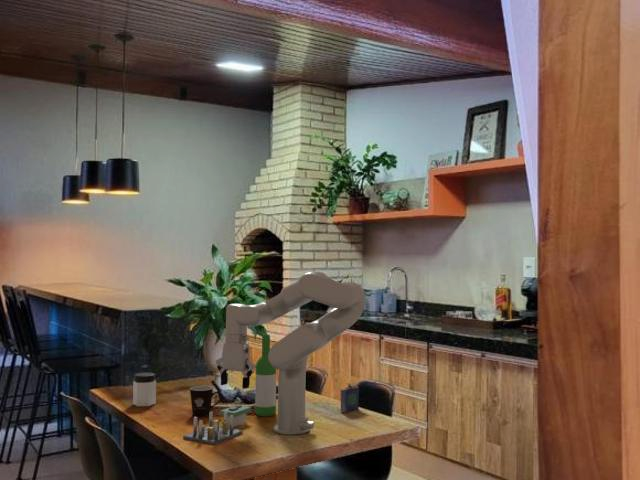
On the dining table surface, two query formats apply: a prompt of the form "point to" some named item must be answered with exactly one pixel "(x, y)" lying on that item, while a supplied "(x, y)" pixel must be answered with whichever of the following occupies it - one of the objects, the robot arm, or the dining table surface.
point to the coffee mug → (202, 400)
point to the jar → (144, 389)
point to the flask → (349, 399)
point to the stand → (237, 420)
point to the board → (236, 410)
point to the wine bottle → (265, 382)
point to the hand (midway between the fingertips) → (234, 386)
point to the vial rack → (213, 431)
